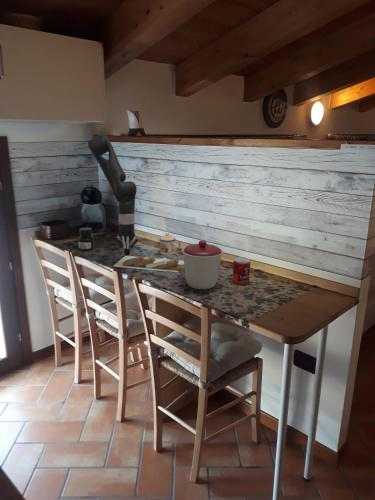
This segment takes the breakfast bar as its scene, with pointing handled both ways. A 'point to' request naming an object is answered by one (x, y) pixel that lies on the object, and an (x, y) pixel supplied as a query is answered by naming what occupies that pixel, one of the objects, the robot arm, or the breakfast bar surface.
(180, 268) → the domino
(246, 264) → the canned food
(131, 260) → the domino
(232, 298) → the breakfast bar surface
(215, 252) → the canister
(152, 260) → the domino
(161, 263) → the domino
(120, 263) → the mat
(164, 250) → the teacup with lid
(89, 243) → the ink bottle
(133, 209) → the robot arm
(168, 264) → the domino
